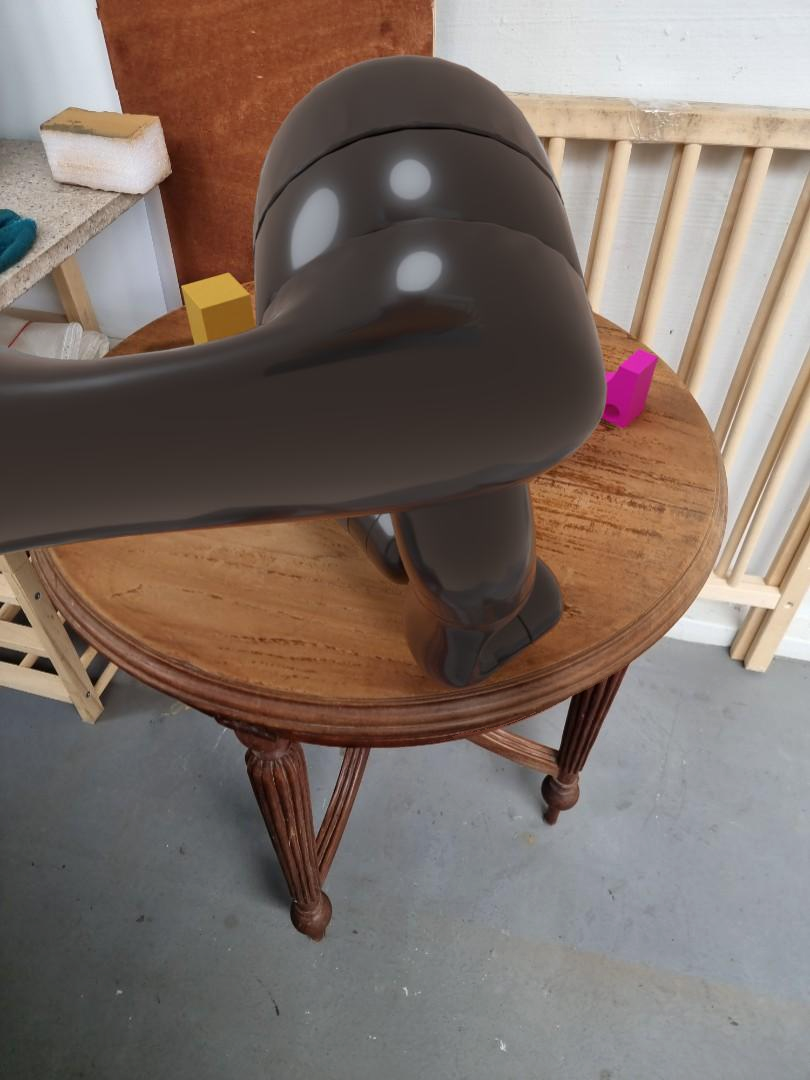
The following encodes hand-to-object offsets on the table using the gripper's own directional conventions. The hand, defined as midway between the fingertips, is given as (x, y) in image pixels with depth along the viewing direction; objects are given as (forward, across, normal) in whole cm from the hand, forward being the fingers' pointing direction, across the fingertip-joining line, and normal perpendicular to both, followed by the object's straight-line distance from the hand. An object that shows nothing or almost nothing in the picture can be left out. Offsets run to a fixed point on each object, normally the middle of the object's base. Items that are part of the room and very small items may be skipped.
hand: (263, 365), depth 71 cm
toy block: (-11, -28, +9) cm, 31 cm away
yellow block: (+10, 0, +8) cm, 13 cm away
